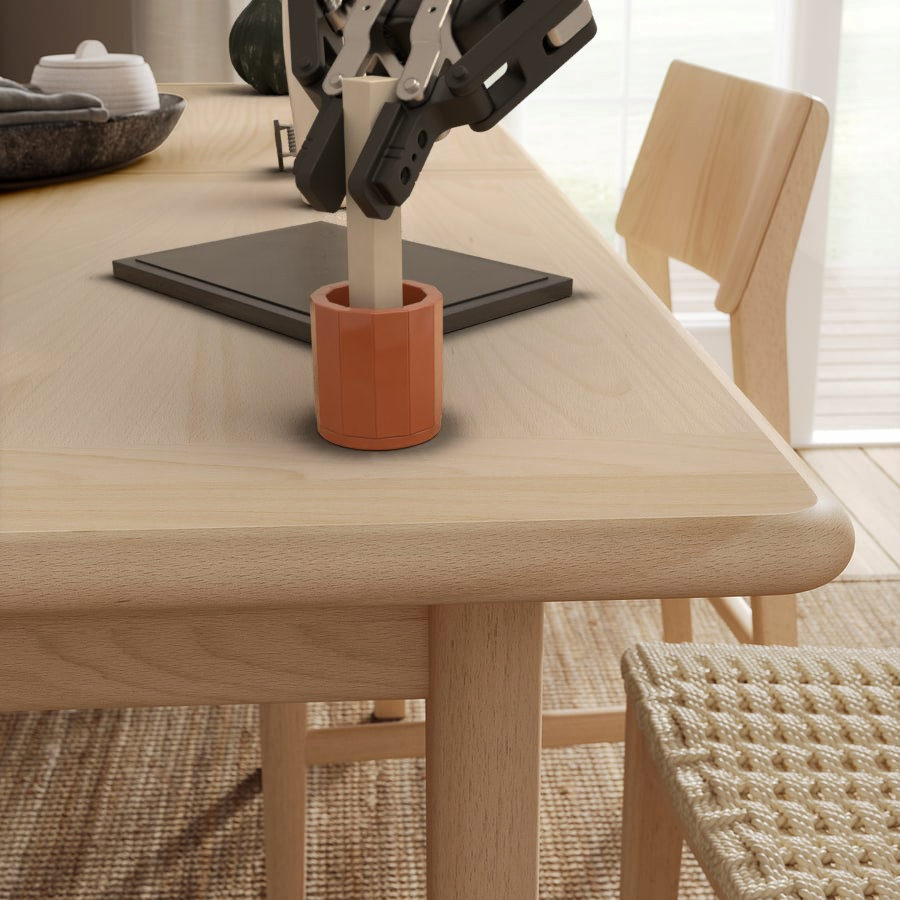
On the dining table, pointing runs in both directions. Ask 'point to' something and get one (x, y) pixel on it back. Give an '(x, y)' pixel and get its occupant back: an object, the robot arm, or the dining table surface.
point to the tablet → (328, 277)
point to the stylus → (367, 238)
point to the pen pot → (377, 368)
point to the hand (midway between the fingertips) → (340, 201)
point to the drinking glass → (298, 94)
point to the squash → (260, 46)
